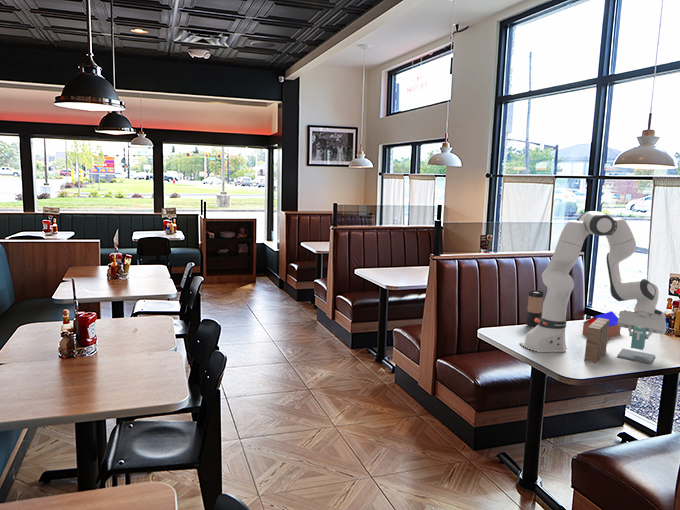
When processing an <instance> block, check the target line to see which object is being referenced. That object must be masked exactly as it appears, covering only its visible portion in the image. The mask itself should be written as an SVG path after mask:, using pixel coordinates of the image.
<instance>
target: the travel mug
mask: <svg viewBox="0 0 680 510" xmlns="http://www.w3.org/2000/svg"><path fill="white" fill-rule="evenodd" d="M527 300H528V301H527V310H526V311H527V312H526V326H527V325H528V326H530V327H529V328H531V327H533V328H535V327H536V326H537V325H538V323H537V322H535V318H538V319H540V318H541V317H542V310H543V302H544V292H543V291H541V290H534V289H533V290H531V291H530V290H529V291H528V299H527ZM528 326H527V327H528ZM533 328H532V329H533Z"/></svg>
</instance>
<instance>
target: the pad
mask: <svg viewBox="0 0 680 510" xmlns="http://www.w3.org/2000/svg"><path fill="white" fill-rule="evenodd" d="M655 357H656V354H653V353H647V352H641V351H638V350H632V349H628V348H627V349H626V348H622V349H621V350H620V352H619V353H618V354H617V356H616V358H620V359H624V360H629V361H634V362H639V363H643V364H648V365H652V363H653V362H654V360H655Z"/></svg>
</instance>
